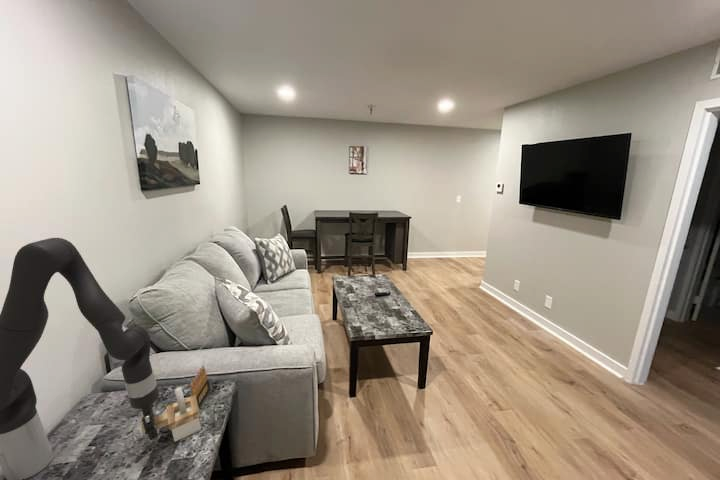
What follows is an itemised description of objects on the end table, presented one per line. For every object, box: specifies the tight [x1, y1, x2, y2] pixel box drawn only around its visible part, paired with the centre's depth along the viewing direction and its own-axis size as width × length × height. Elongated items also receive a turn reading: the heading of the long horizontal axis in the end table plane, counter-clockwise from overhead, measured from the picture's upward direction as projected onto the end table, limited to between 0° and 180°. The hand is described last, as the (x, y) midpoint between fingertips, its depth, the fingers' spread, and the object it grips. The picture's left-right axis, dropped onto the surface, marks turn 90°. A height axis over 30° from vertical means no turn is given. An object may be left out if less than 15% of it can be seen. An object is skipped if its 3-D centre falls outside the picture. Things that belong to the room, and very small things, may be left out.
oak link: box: [141, 395, 201, 436], centre depth 101 cm, size 16×9×2 cm, turn 125°
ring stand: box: [171, 386, 202, 443], centre depth 103 cm, size 8×8×16 cm
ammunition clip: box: [189, 365, 211, 409], centre depth 115 cm, size 11×2×12 cm, turn 2°
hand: (153, 428), depth 99 cm, fingers open, 8 cm apart
